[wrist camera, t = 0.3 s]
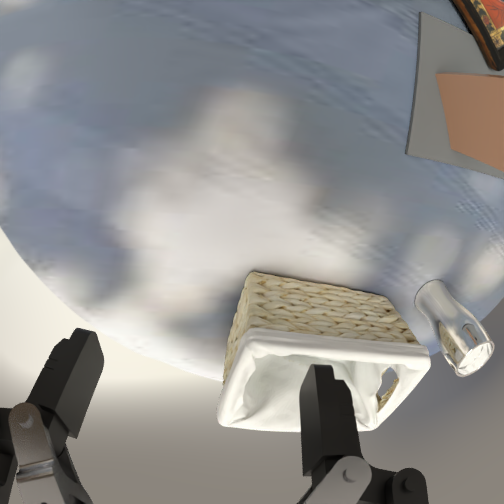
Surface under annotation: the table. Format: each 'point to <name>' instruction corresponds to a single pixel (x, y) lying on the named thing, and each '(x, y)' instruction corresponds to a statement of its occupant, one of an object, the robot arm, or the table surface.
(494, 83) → the tile
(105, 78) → the table surface
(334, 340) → the storage basket
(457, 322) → the beer glass
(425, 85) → the mat
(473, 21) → the religious icon
